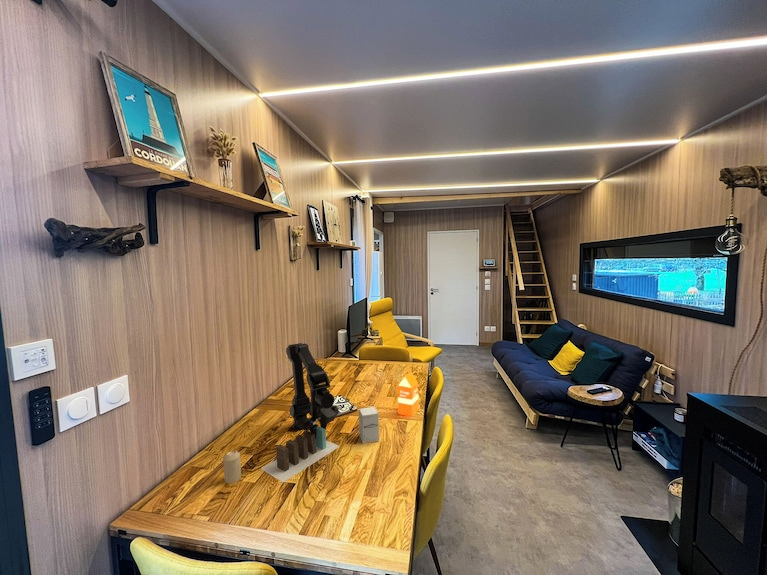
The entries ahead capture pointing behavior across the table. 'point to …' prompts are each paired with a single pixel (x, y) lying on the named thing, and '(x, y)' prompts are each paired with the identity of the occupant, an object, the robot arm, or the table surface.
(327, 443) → the mat
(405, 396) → the orange juice
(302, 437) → the domino
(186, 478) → the table surface
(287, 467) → the domino
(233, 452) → the candle
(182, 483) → the table surface
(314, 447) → the domino
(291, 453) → the domino
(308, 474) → the table surface
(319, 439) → the domino
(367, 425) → the supplement box
